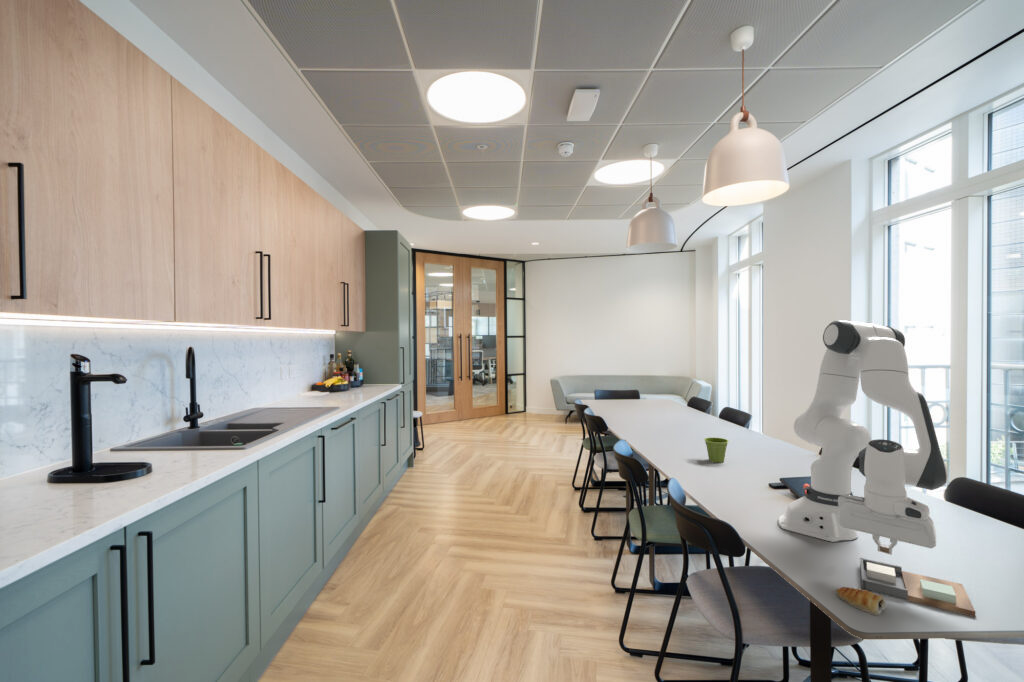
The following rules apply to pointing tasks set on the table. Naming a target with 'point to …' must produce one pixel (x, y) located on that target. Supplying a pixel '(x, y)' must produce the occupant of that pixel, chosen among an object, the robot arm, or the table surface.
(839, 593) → the pastry
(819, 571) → the table surface
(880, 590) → the tray
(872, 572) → the tile cream
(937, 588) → the tile sage
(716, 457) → the plant pot
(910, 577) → the board
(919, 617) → the table surface
